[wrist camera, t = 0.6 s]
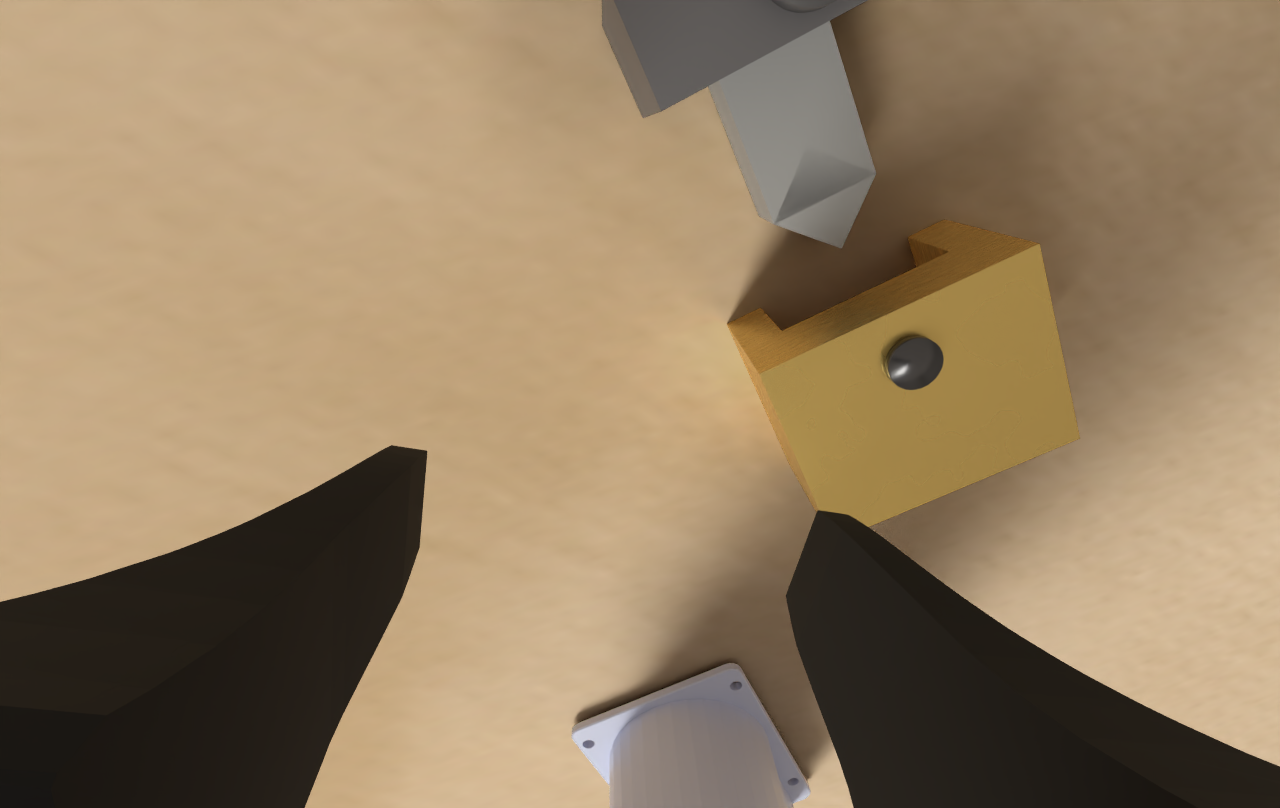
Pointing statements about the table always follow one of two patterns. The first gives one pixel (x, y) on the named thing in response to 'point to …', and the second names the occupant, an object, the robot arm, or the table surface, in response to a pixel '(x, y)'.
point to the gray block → (758, 96)
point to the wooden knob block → (917, 377)
